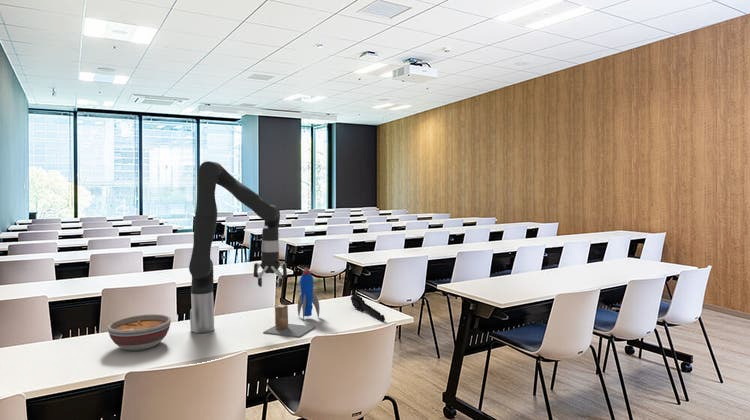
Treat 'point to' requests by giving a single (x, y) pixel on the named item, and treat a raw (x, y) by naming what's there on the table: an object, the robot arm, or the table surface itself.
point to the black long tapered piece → (365, 307)
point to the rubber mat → (291, 330)
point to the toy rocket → (307, 295)
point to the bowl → (139, 331)
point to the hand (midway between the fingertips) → (270, 286)
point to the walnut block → (281, 317)
